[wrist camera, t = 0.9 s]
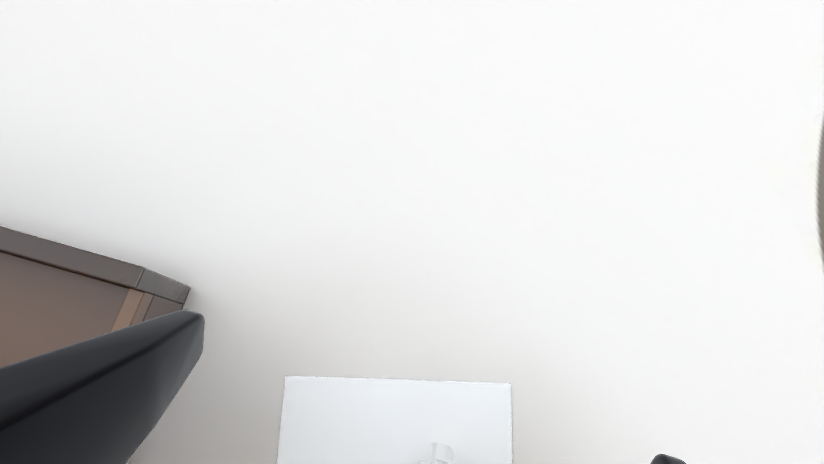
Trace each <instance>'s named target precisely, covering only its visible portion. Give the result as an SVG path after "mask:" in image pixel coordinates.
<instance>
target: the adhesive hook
mask: <svg viewBox="0 0 824 464" xmlns="http://www.w3.org/2000/svg"><path fill="white" fill-rule="evenodd" d="M454 457H455V453H454V450H453V447H452V446H450V445H449V444H446V443H442V442H439V443H437V442H434V441H433V442H430V443H429V448H428V457H427V460H419V461H418V464H453V462H454Z"/></svg>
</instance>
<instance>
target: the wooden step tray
mask: <svg viewBox="0 0 824 464" xmlns="http://www.w3.org/2000/svg"><path fill="white" fill-rule="evenodd" d="M189 290H190V287H189V286H187V285H184V284H182V283H180V282H177V281H175V280H173V279H170V278H168V277H166V276H163V275H161V274H159V273H156V272H154V271H151V270H149V269H147V268H144V267H141V266H137V265H134V264H130V263H127V262H123V261H120V260H116V259H113V258H109V257H106V256H102V255H99V254H95V253H92V252H88V251H85V250H81V249H78V248H74V247H71V246H67V245H64V244H60V243H57V242H53V241H50V240H46V239H43V238H39V237H36V236H32V235H29V234H25V233H22V232H18V231H15V230H11V229H8V228H4V227H1V226H0V368H1V367H4V366H7V365H10V364H13V363H16V362H19V361H23V360H26V359H29V358H32V357H35V356H38V355H41V354H44V353H48V352H51V351H54V350H57V349H60V348H63V347H66V346H69V345H72V344H75V343H79V342H82V341H85V340H88V339H91V338H94V337H97V336H100V335H103V334H107V333H110V332H113V331H116V330H119V329H122V328H125V327H128V326H131V325H134V324H138V323H141V322H144V321H147V320H150V319H153V318H156V317H159V316H162V315H166V314H169V313H172V312H175V311H178V310H181V309H182V307H183V304H184V302H185V299H186V297H187V295H188V292H189Z"/></svg>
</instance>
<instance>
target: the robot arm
mask: <svg viewBox="0 0 824 464" xmlns="http://www.w3.org/2000/svg"><path fill="white" fill-rule="evenodd" d="M204 325H205V319H204V316H203V315H202V314H200V313H196V312H193V311H190V310H186V309H182V310H178V311H175V312H172V313H169V314H166V315H162V316H159V317H156V318H153V319H150V320H147V321H144V322H141V323H138V324H134V325H131V326H128V327H125V328H122V329H119V330H116V331H113V332H110V333H107V334H103V335H100V336H97V337H94V338H91V339H88V340H85V341H82V342H79V343H75V344H72V345H69V346H66V347H63V348H60V349H57V350H54V351H51V352H48V353H44V354H41V355H38V356H35V357H32V358H29V359H26V360H23V361H19V362H16V363H13V364H10V365H7V366H4V367H1V368H0V464H124V463H125V462H126V461H127V460H128V459H129V457H130V456H131V455H132V454H133V452H134V451H135V450H136V449H137V447H138V446H139V445H140V444H141V443H142V441H143V440H144V439H145V438H146V436H147V435H148V434H149V433H150V431H151V430H152V429H153V427H154V426H155V425H156V423H157V422H158V420H159V419H160V418H161V416H162V415H163V413H164V412H165V410H166V409H167V407H168V406H169V404H170V402H171V401H172V399H173V398H174V396H175V395H176V393H177V392H178V390H179V389H180V387H181V386H182V384H183V383H184V381H185V380H186V378H187V377H188V375H189V374H190V372H191V370H192V369H193V367H194V366H195V364H196V363H197V361H198V360H199V358H200V356H201V353H202V350H203V340H204ZM651 464H686V463H685V462H684V461H682V460H680V459H678V458H675V457H671V456H668V455H665V454H658V455H657V456H655V458H654V459H653V461H652V462H651Z"/></svg>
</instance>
